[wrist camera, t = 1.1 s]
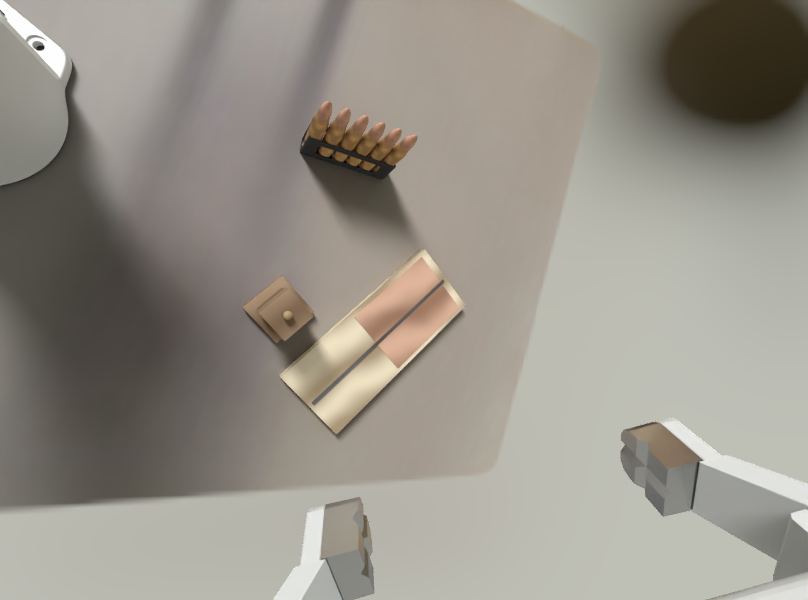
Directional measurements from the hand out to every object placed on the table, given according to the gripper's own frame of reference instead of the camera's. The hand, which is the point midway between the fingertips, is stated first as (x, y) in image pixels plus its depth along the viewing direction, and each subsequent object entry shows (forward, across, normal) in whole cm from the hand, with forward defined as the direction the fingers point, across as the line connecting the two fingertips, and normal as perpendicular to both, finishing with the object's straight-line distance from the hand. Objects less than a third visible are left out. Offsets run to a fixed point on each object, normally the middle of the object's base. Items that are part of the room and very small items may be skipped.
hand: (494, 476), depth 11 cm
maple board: (+36, +4, +12) cm, 38 cm away
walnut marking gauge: (+34, +15, +5) cm, 37 cm away
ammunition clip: (+42, +3, -10) cm, 43 cm away
